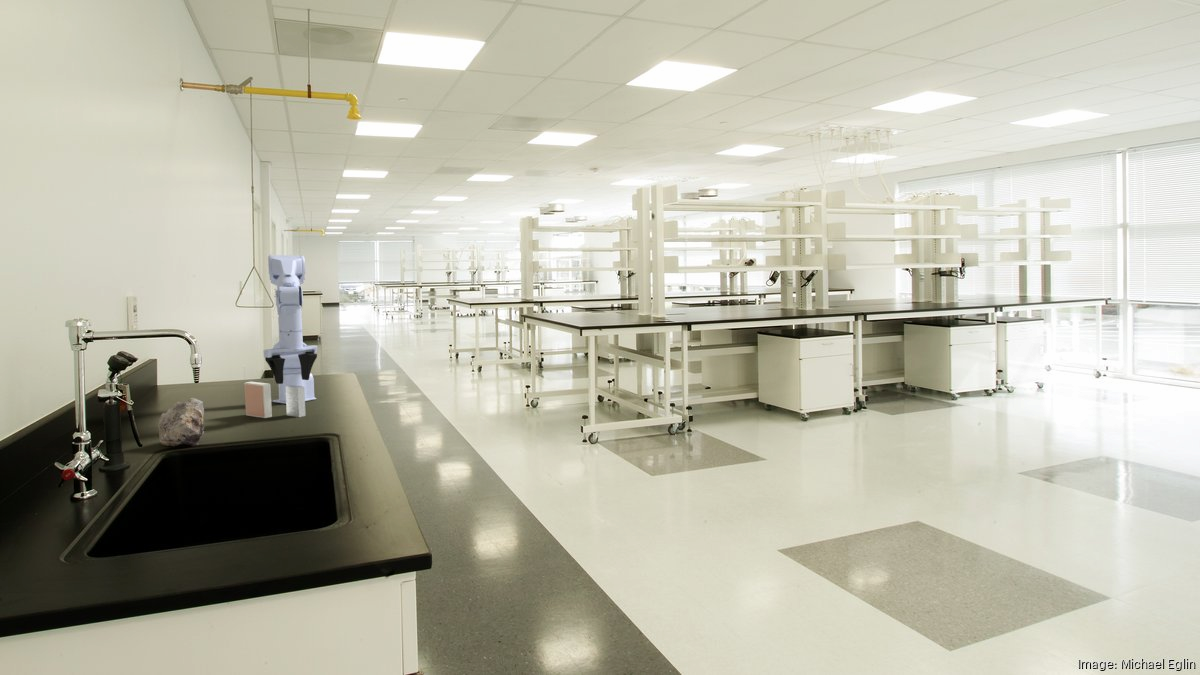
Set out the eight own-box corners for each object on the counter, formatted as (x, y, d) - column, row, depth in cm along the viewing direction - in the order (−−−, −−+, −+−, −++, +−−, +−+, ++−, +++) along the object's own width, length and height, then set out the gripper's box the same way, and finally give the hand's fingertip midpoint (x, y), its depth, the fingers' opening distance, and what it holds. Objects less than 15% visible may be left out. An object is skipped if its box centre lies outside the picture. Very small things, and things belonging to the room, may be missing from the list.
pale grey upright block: (293, 414, 178) (292, 385, 177) (305, 415, 176) (304, 386, 175) (286, 415, 176) (285, 386, 176) (299, 417, 174) (297, 387, 173)
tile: (252, 413, 178) (251, 381, 177) (271, 416, 175) (270, 383, 174) (245, 415, 176) (243, 382, 175) (264, 418, 173) (262, 385, 172)
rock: (155, 460, 143) (159, 431, 137) (156, 419, 150) (160, 390, 144) (203, 458, 148) (209, 430, 143) (202, 419, 155) (208, 391, 150)
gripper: (274, 333, 165) (276, 386, 166) (323, 330, 178) (325, 379, 179) (257, 332, 169) (260, 384, 170) (307, 329, 181) (309, 377, 182)
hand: (292, 381), depth 174 cm, fingers open, 7 cm apart
